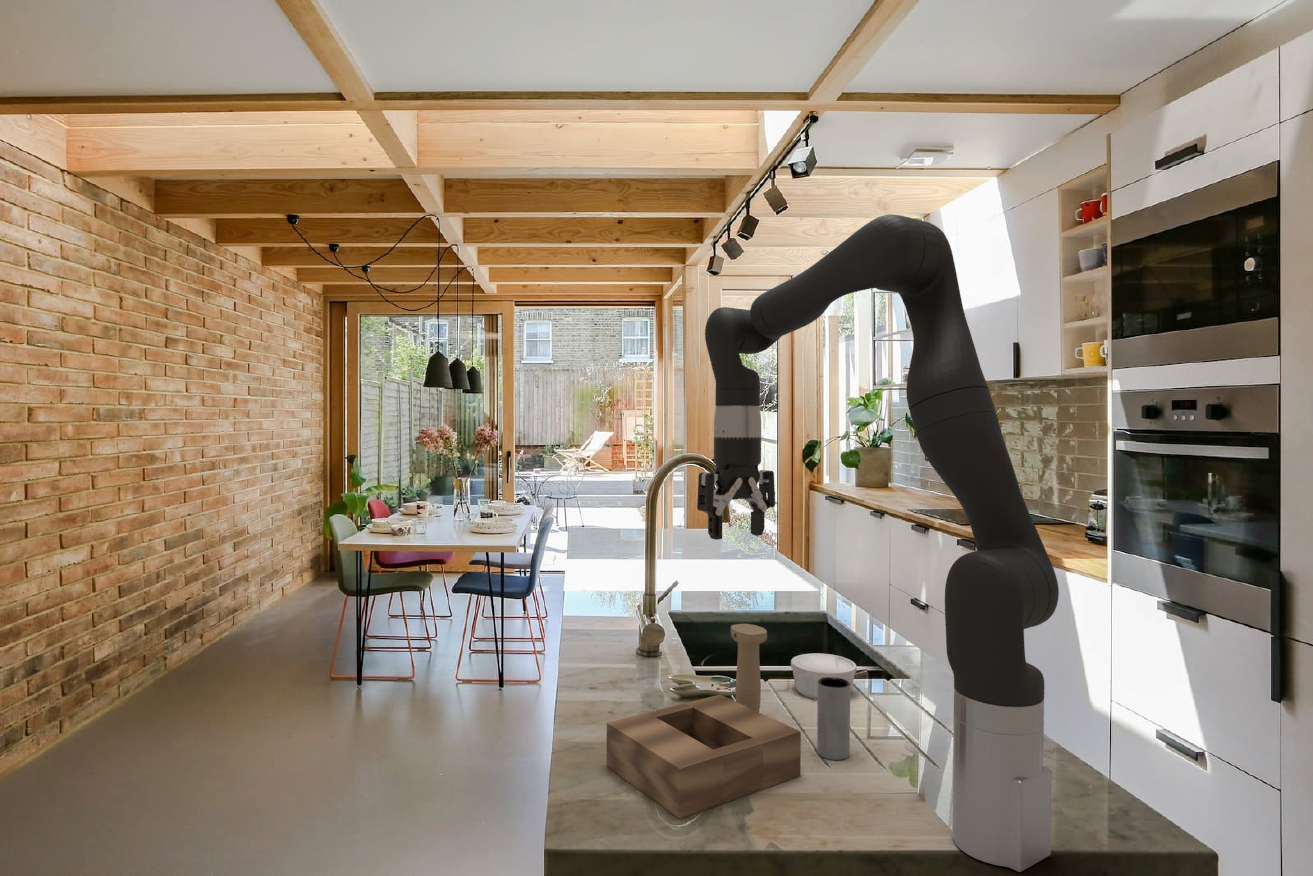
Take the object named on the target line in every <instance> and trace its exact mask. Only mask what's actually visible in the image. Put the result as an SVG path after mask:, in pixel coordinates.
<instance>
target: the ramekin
mask: <svg viewBox="0 0 1313 876" xmlns="http://www.w3.org/2000/svg"><path fill="white" fill-rule="evenodd" d="M790 667H791V669H792V674H793V680H794V686H795V688H796V690H797V691H798V692H799V693H800V694H801V695H803V696H804V697H807V698H809V699H814V700H818V680H819V679H821V678H826V677H836V678H841V679H845V680H847V681H848V682H849V683H850V694H851V693H852V689H853V686H854V685H853V684H854V679H855V674H856V673H857V664H856V663H855V662H854V661H853V660H851V659H849V658H846V657H843V656H841V655H835V654H830V653H821V652H820V653H818V652H817V653H815V652H814V653H804V654H799V655H796V656H793V657H792V659H790Z"/></svg>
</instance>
